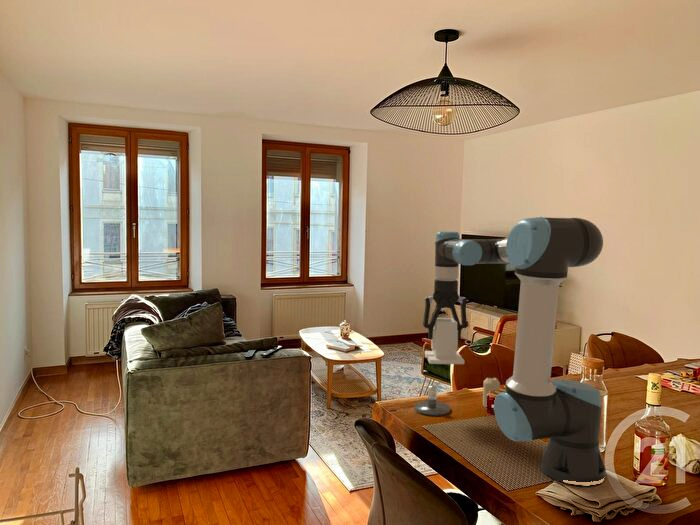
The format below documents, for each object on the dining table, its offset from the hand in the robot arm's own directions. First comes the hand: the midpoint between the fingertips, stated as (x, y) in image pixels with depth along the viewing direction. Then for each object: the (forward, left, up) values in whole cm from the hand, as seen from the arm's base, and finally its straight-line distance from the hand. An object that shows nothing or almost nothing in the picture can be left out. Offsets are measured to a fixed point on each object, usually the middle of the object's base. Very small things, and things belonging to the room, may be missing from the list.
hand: (444, 348), depth 173 cm
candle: (+7, -18, -22) cm, 30 cm away
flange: (0, 0, -3) cm, 3 cm away
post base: (+4, +3, -22) cm, 22 cm away
